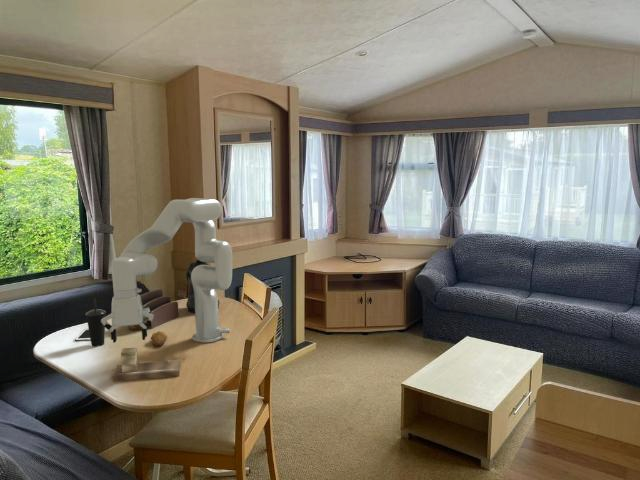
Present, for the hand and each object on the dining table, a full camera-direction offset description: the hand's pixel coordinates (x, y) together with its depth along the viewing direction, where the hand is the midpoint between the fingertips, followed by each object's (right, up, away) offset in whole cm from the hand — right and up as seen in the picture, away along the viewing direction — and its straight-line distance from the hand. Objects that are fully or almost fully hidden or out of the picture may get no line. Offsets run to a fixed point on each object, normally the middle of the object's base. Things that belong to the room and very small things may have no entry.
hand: (129, 340), depth 176 cm
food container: (-16, -5, +49) cm, 52 cm away
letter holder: (-10, -4, +60) cm, 61 cm away
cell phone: (-33, -7, +42) cm, 54 cm away
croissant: (0, -8, +33) cm, 34 cm away
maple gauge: (0, -11, +1) cm, 11 cm away
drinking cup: (-25, -8, +30) cm, 40 cm away
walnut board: (+5, -12, +3) cm, 14 cm away
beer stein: (+6, 0, +80) cm, 80 cm away
